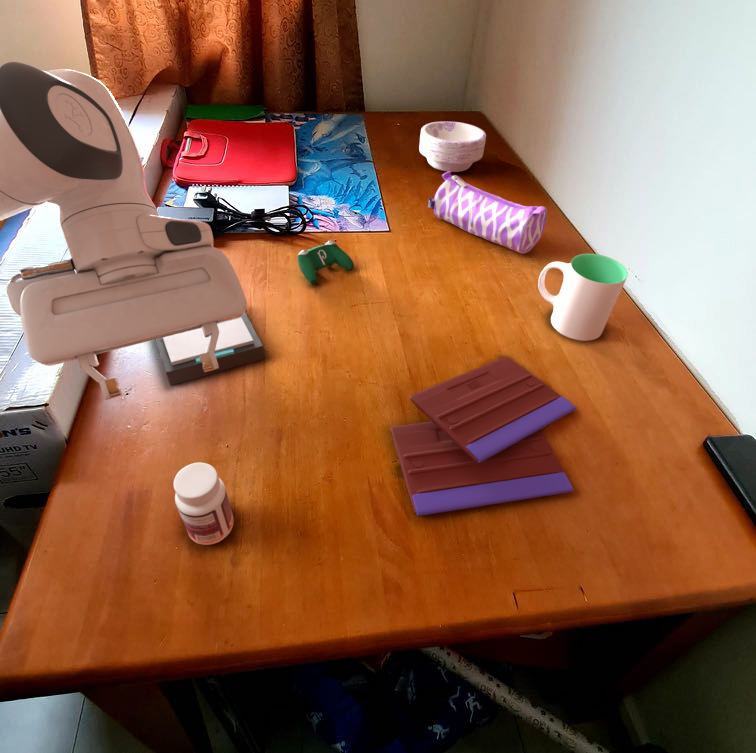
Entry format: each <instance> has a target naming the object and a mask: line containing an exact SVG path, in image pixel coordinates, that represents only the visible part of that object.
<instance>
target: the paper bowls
mask: <svg viewBox="0 0 756 753" xmlns="http://www.w3.org/2000/svg"><path fill="white" fill-rule="evenodd" d="M486 140H487V134H486V132H485V131H484V130H483V129H482V128H480V127H478V126H475V125H474V124H469V123H465V122H459V121H445V120H444V121H434V122H429V123H426V124H425V125H423V126H422V127H421V129H420V136H419V144H418V145H419V147H418V149H419V153H420V154H421V155H422V156H424V157H425V158H426V160H427V163H428V164H429V165H430V166H431V167H432V168H434V169H435V170H439V171H442V172H445V173H446V172H448V171H451V173H461V172H464V171H467V170H468V169H470V168H471V166H472V165H473V164H474V163H476V162H478V161H480V160H481V159H482V158H483V156H484V151H485V145H486Z"/></svg>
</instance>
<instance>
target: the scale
mask: <svg viewBox="0 0 756 753" xmlns="http://www.w3.org/2000/svg"><path fill="white" fill-rule="evenodd" d="M217 326H218V329H219V336H218V340H217V345H216V349H215V351H214V353H215V356H216V359H217V362H218V366H219V368H218V369H215V370H211V371H207V372H204V371H203V368H202V366H203V364H202V363H201V361H200V358H199V355H201V354H205V353H207V350H208V345H209V341H210V336H209V337H205V336H204V334H203V331H202V328H199V329H195V330H191V331H187V332H183V333H179V334H175V335H171V336H167V337H163V338H159V339H155V340H154V341H155V344H156V347H157V350H158V353H159V356H160V359H161V362H162V365H163V369H164V371H165V374H166V377H167V381H168V383H169V386H174V385H178V384H181V383H184V382H187V381H192V380H195V379H198V378H202V377H206V376H209V375H213V374H215V373H219V372H224V371H226V370H230V369H232V368H237V367H240V366H244V365H247V364H251V363H255V362H258V361H261V360H265V359H266V356H265V349H264V345H263V343H262V341H261V339H260V337H259V335H258V333H257V332H256V330H255V328H254V327H253V324H252V322H251V321H250V319H249V317H248V315H247V313H246V311H245V312H244V313H243V315H242V316H241V317H240V318H238V319H235V320H231V321H227V322H223V323H219V324H217Z"/></svg>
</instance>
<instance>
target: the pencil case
mask: <svg viewBox="0 0 756 753" xmlns="http://www.w3.org/2000/svg"><path fill="white" fill-rule="evenodd" d="M451 173H452V172H451V171H448V172H446V171H445V172H444V173H443V174H441V177H442V179H443V180H444V182H443V183H442V184H441V185H440V186H439V187H438V189H437V191H436V192H435V194H434V198H432V197H429V198H428V201H427V202H428V204H427V207H428V209H431V210H433V213H434V215H435V216H436V217H437V219H439V220H443V221H445V222H448V223H449V224H452V225H454V226H456V227H458V228H459V229H461V230H463V231H465V232H467V233H469V234H472V235H473V236H476V237H480V238H482V239H485V240H487V241H490V242H492V243H494V244H497V245H499V246H502V247H505V248H507V249H510V250H512V251H514V252H517V253H519V254H527V253H529V252H530V251H531V250H532V249H533V248H534V247H535V246H536V245H537V244H538V243H539V241H540V240H541V238H542V236H543V234H544V231H545V228H546V224H547V219H548V210H547V208H546V206H543V205H540V206H538V205H537V206H536V205H529V206H527V205H522V204H520V203H516V202H513V201H509V200H507V199H506V198H503V197H502V196H499V195H496V194H493V193H490V192H487V191H485V190H482V189H480V188H478V187H475V186H473V185H471V184H470V183H467V182H466V181H465V180H463V178H461V177H460V176H458V175H456V174H454V175H452V174H451Z"/></svg>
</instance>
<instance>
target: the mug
mask: <svg viewBox="0 0 756 753" xmlns="http://www.w3.org/2000/svg"><path fill="white" fill-rule="evenodd" d="M550 269H557V270H560V271H561V272H562V274H563V279H562V280H563V281H562V284H561V288H560V291H559V293H558V294H557V295H554V294H551V293H550V292H549V291H548V290H547V288H546V285H545V279H546V276H547V273H548V272H549V270H550ZM628 276H629V274H628V270H627V268H626V267H625V266H624V265H623V264H622V263H620V262H619V261H617V260H616V259H614V258H611V257H609V256H606V255H603V254H598V253H581V254H578V255H575V256H574V257H573V258H572V259H571V260H570V263H567V262H563V261H552V262H549V263H548V264H547V265H545V267H544V268H543V269H542V271H541V272H540V274H539V277H538V282H537V287H538V288H537V289H538V292H539V294H540V296H541V297H542V298H543V299H544V300H545V301H546V302H547V303H549V304H551V305H553V309H552V310H553V311H552V313H551V316H550V324H551V325H552V327H553V328H554V329H555V330H556V332H558V333H559V334H561V335H563V336H564V337H567V338H569V339H572V340H575V341H582V342H585V341H586V342H587V341H589V342H590V341H594V340H596V339H598V338H599V337H601V335H602V334H603V331H604V329H605V327H606V325H607V323H608V320H609V319H610V316H611V315H612V312H613V309H614V307H615V306H616V303H617V301H618V299H619V296H620V294H621V292H622V289H623V288H624V285H625V282H626V281H627V278H628Z"/></svg>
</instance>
